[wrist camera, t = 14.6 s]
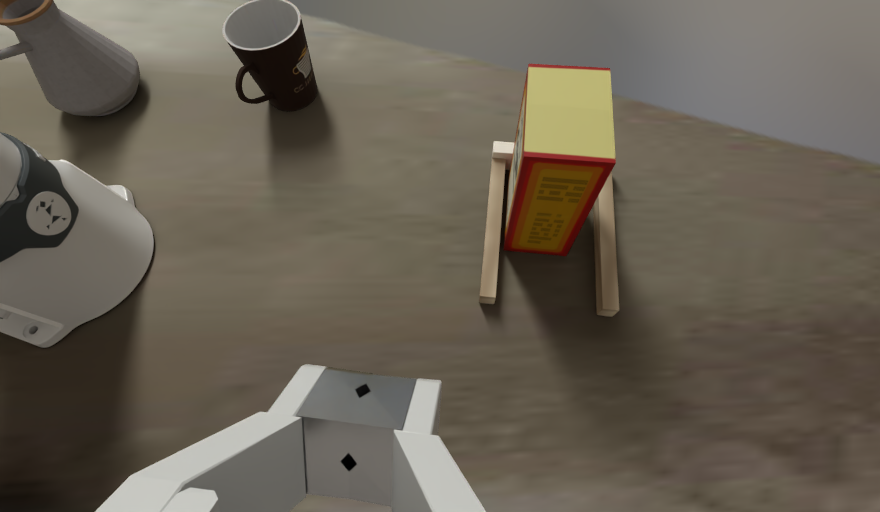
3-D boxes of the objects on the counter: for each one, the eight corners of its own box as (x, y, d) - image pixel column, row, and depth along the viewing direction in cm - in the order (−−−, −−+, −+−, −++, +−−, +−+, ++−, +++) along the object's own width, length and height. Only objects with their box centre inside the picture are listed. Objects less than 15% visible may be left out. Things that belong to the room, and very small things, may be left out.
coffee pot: (97, 58, 61) (-7, -57, 47) (167, 71, 59) (81, -45, 46) (-6, 179, 52) (-169, 81, 39) (73, 198, 50) (-68, 103, 37)
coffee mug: (297, 60, 59) (268, -13, 50) (339, 89, 56) (316, 19, 47) (228, 109, 56) (183, 41, 47) (269, 143, 53) (230, 78, 44)
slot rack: (479, 302, 43) (480, 292, 40) (492, 158, 51) (493, 141, 48) (612, 316, 42) (623, 306, 39) (605, 166, 49) (613, 149, 47)
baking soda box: (508, 176, 49) (529, 59, 35) (566, 181, 49) (611, 64, 34) (503, 250, 45) (524, 152, 31) (566, 256, 45) (617, 159, 30)
